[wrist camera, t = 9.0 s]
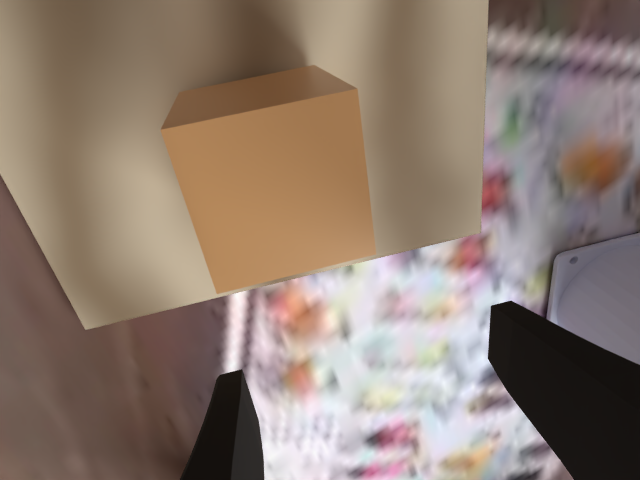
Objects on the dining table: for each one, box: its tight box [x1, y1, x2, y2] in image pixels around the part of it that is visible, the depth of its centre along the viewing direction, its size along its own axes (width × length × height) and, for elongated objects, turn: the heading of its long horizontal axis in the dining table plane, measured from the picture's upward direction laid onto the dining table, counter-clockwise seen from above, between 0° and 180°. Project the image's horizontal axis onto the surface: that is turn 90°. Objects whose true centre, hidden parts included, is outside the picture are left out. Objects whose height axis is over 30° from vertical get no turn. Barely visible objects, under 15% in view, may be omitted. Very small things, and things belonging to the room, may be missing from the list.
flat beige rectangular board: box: [0, 0, 489, 330], centre depth 16 cm, size 20×14×7 cm
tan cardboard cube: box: [161, 65, 376, 294], centre depth 15 cm, size 5×5×6 cm
